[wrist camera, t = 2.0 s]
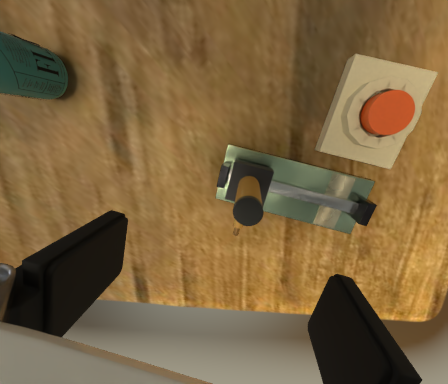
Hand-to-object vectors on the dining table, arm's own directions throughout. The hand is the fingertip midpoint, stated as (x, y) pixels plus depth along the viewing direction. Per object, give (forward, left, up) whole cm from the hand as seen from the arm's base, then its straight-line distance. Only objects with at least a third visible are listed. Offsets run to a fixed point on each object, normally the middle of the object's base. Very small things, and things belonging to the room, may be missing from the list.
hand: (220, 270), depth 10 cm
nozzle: (+2, +1, -21) cm, 21 cm away
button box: (-11, +13, -23) cm, 28 cm away
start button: (-11, +13, -19) cm, 26 cm away
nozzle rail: (0, +7, -23) cm, 24 cm away
